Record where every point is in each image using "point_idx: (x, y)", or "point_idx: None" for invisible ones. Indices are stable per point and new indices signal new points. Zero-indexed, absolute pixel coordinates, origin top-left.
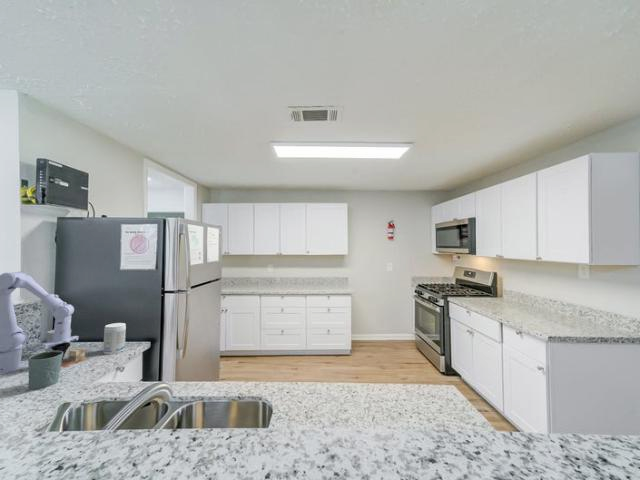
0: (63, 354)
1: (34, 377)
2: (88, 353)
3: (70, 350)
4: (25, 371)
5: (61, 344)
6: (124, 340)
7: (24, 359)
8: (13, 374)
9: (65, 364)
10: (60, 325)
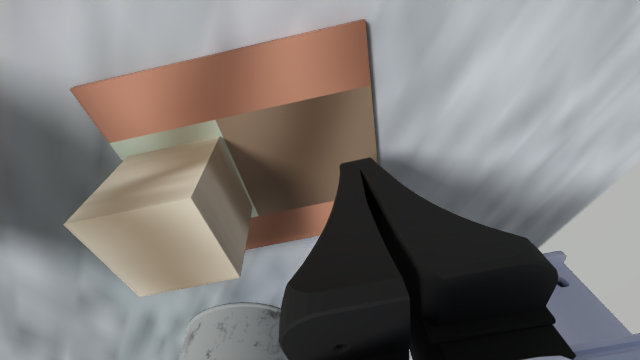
0: (355, 187)
1: None
2: None
3: (226, 273)
4: (496, 209)
5: (446, 353)
6: None
7: None
8: (547, 212)
9: (320, 110)
10: None
